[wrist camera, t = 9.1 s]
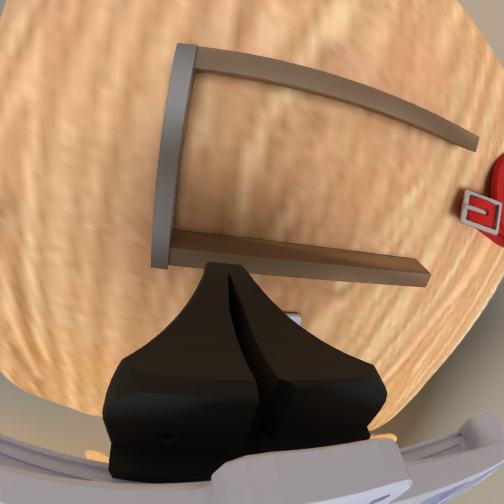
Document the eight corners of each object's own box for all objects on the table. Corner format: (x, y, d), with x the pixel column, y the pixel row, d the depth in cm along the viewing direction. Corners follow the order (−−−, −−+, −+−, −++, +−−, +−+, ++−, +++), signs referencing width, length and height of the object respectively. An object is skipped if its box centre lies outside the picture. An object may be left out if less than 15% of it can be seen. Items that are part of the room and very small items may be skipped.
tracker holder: (525, 132, 19) (551, 219, 21) (493, 136, 23) (522, 215, 25) (471, 207, 18) (503, 301, 21) (434, 204, 23) (470, 289, 25)
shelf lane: (410, 271, 25) (428, 290, 22) (157, 244, 21) (150, 267, 18) (458, 130, 19) (483, 138, 17) (182, 51, 15) (177, 43, 13)
